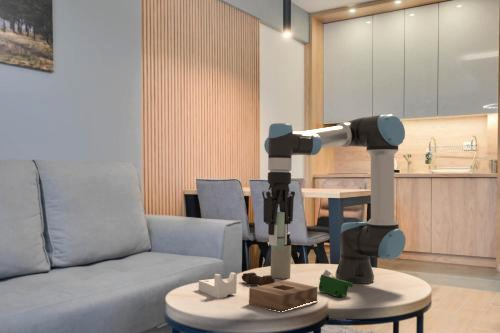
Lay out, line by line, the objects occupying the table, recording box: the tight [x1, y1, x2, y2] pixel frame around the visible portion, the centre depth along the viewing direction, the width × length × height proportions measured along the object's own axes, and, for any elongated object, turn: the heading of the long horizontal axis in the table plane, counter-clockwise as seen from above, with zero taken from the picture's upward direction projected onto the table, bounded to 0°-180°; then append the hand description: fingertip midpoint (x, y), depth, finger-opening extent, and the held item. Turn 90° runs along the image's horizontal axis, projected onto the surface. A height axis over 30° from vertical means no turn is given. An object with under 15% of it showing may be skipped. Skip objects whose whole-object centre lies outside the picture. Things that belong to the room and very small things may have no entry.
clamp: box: [318, 274, 354, 298], centre depth 167 cm, size 12×6×9 cm, turn 21°
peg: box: [270, 211, 285, 251], centre depth 154 cm, size 4×4×12 cm
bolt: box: [241, 272, 275, 286], centre depth 176 cm, size 6×5×15 cm
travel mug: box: [269, 231, 292, 280], centre depth 194 cm, size 8×8×18 cm
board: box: [248, 280, 318, 312], centre depth 152 cm, size 18×13×5 cm
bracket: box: [198, 271, 238, 299], centre depth 164 cm, size 13×7×8 cm, turn 36°
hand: (277, 244), depth 154 cm, fingers closed on peg, 4 cm apart
